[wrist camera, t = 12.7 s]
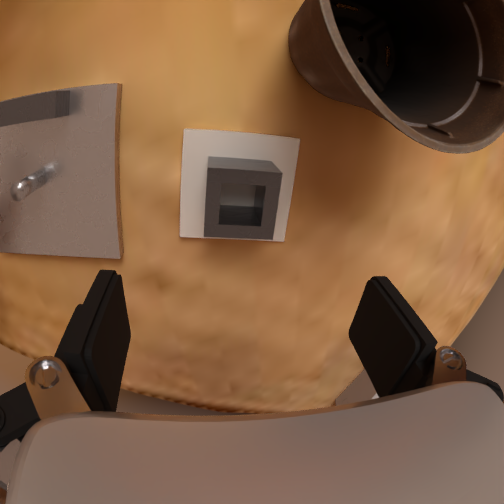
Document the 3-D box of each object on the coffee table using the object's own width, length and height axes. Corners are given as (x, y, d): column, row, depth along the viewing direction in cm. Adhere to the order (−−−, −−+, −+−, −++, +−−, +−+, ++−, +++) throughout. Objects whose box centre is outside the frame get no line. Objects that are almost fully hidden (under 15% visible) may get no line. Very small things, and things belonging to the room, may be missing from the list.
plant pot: (275, 128, 28) (341, 161, 13) (252, -20, 20) (291, -110, 6) (413, 120, 28) (525, 155, 14) (397, -9, 20) (499, -39, 6)
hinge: (353, 401, 53) (355, 440, 43) (334, 394, 53) (334, 433, 43) (407, 343, 46) (420, 381, 37) (387, 334, 46) (398, 373, 37)
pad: (184, 128, 26) (183, 129, 26) (298, 138, 28) (300, 139, 27) (180, 233, 32) (179, 236, 31) (282, 238, 33) (284, 241, 33)
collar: (208, 156, 27) (207, 167, 23) (271, 160, 28) (282, 173, 24) (204, 215, 30) (203, 236, 26) (263, 218, 31) (272, 239, 27)
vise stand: (-13, 105, 20) (-45, 112, 15) (122, 83, 23) (100, 81, 18) (2, 246, 29) (-21, 270, 24) (123, 252, 32) (109, 282, 26)
